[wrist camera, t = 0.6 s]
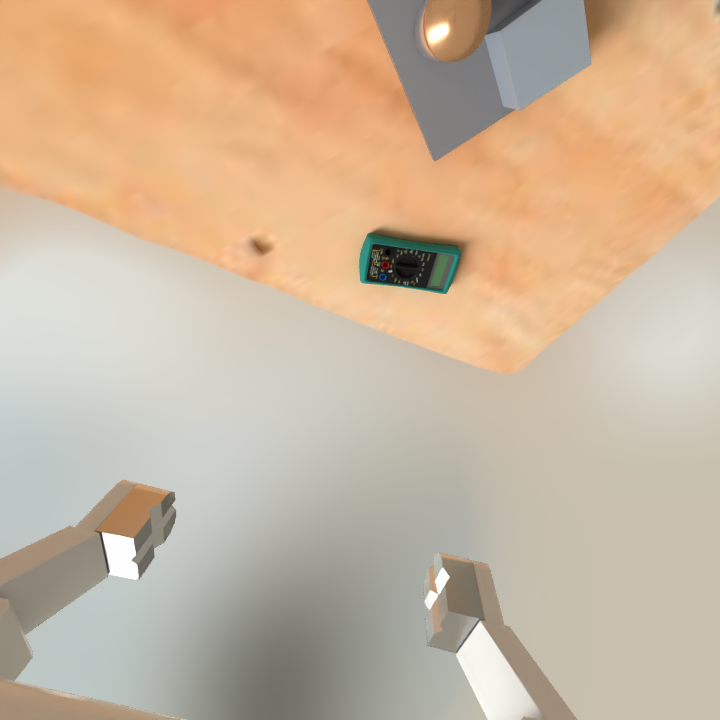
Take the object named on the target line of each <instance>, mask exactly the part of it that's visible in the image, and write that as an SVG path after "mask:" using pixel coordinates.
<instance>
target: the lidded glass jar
mask: <svg viewBox="0 0 720 720" xmlns="http://www.w3.org/2000/svg"><path fill="white" fill-rule="evenodd" d="M491 7H492V5H491V0H425V1H424V3H423V4H422V5H421V7H420V8H419V10H418V12H417V14H416V17H415V21H414V26H413V38H414V43H415V46H416V48H417V50H418V52H419V53H420V55H421V56H422V57H424V58H425V59H427V60H430V61H443V62H458V61H461V60H463V59H466V58H467V57H469V56H470V55H471V54H472V53H474V52H475V50H476V49H477V48H478V47H479V46H480V44H481V43H482V41H483V39H484V37H485V35H486V33H487V30H488V27H489V24H490V19H491Z"/></svg>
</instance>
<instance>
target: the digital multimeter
mask: <svg viewBox="0 0 720 720" xmlns="http://www.w3.org/2000/svg"><path fill="white" fill-rule="evenodd" d="M380 244H381V245H380ZM394 246H395V247H394ZM401 247H402V248H401ZM421 250H422V251H421ZM428 251H429V252H428ZM435 252H436V253H435ZM460 256H461V251H460V250H459V248H458V247H457V246H450V245H440V244H430V243H423V242H415V241H408V240H403V239H397V238H392V237H386V236H382V235H377V234H372V233H369V234H368V235H367V237H366V239H365V241H364V244H363V247H362V250H361V253H360V260H359V265H360V281H361V283H366V284H378V285H388V286H398V287H405V288H412V289H419V290H425V291H430V292H436V293H441V294H446V293H447V292H448V290H449V288H450V286H451V283H452V281H453V279H454V276H455V273H456V270H457V267H458V264H459V260H460ZM453 259H454V260H453Z"/></svg>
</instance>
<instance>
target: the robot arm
mask: <svg viewBox="0 0 720 720" xmlns="http://www.w3.org/2000/svg"><path fill="white" fill-rule="evenodd" d="M174 501H175V492H171V491H167V490H163V489H159V488H155V487H151V486H147V485H143V484H140V483H135V482H131V481H127V480H122V481H121V482H119V483H117V484H116V485H115V486H114V487H113V488H112V489H111V490H110V491H109V492H108V493H107V494H106V495H105V496H104V497H103V498H102V499H101V500H100V501H99V503H98V504H97V505H96V506H95V507H94V508H93V509H92V510H91V511H90V512H89V513H88V514H87V515H86V516H85V517H84V518H83V519H82V520H81V521H80V522H79V523H78V524H77V525H76V527H73V526H68V527H66V528H64V529H62V530H60V531H58V532H56V533H54V534H52V535H50V536H48V537H45V538H43V539H41V540H39V541H37V542H35V543H33V544H31V545H29V546H27V547H25V548H22V549H20V550H18V551H16V552H14V553H12V554H10V555H8V556H6V557H4V558H1V559H0V720H186V719H181V718H177V717H173V716H168V715H164V714H159V713H155V712H150V711H146V710H141V709H136V708H133V707H128V706H124V705H119V704H114V703H110V702H106V701H101V700H96V699H92V698H88V697H84V696H79V695H75V694H70V693H66V692H61V691H57V690H52V689H47V688H43V687H38V686H34V685H30V684H25V683H21V682H16V681H15V679H16V678H17V677H18V676H19V674H20V673H21V672H22V670H23V669H24V668H25V666H26V665H27V664H28V662H29V661H30V660H31V659H32V654H33V650H32V648H31V646H30V644H29V642H28V640H27V637H26V634H27V633H29V632H30V631H31V630H33V629H34V628H36V627H37V626H39V625H40V624H41V623H43V622H44V621H45V620H47V619H48V618H50V617H51V616H53V615H54V614H56V613H57V612H58V611H60V610H61V609H63V608H64V607H65V606H67V605H68V604H70V603H71V602H73V601H74V600H75V599H77V598H78V597H80V596H81V595H82V594H84V593H85V592H87V591H88V590H89V589H91V588H92V587H94V586H95V585H96V584H98V583H99V582H101V581H102V580H103V579H105V578H106V577H108V574H111V575H116V576H121V577H126V578H131V579H137V580H139V579H140V578H141V576H142V575H143V573H144V572H145V570H146V569H147V567H148V566H149V564H150V563H151V561H152V560H153V558H154V548H156V547H157V546H159V545H161V544H162V543H164V542H165V540H166V539H167V537H168V536H169V534H170V532H171V530H172V528H173V525H174V523H175V518H176V510H175V508H174V507H173V506H172V504H173V502H174ZM433 563H434V566H432V567H430V568H429V569H428V571H427V573H426V575H425V581H424V592H423V593H424V603H425V604H426V606H427V608H428V610H429V613H428V615H427V617H426V618H425V623H426V636H427V646H430V647H434V648H438V649H442V650H446V651H449V652H453V653H457V654H456V656H457V658H458V660H459V663H460V664H461V666H462V669H463V671H464V673H465V675H466V677H467V679H468V681H469V683H470V685H471V687H472V689H473V691H474V693H475V695H476V696H477V699H478V701H479V703H480V705H481V707H482V709H483V711H484V713H485V715H486V717H487V719H488V720H577V719H576V717H575V716H574V715H573V713H572V712H571V710H570V709H569V708H568V706H567V705H566V703H565V702H564V701H563V699H562V698H561V697H560V695H559V694H558V693H557V691H556V690H555V689H554V687H553V686H552V684H551V683H550V682H549V680H548V679H547V677H546V676H545V675H544V673H543V672H542V671H541V669H540V668H539V667H538V665H537V664H536V662H535V661H534V660H533V658H532V657H531V656H530V654H529V653H528V651H527V650H526V649H525V647H524V646H523V645H522V643H521V642H520V640H519V639H518V638H517V636H516V635H515V634H514V632H513V631H512V629H511V628H510V627H508V626H505V625H504V622H503V618H502V614H501V610H500V606H499V602H498V598H497V594H496V590H495V587H494V583H493V579H492V575H491V571H490V568H489V566H488V565H487V564H486V563H482V562H477V561H472V560H469V559H466V558H461V557H457V556H452V555H447V554H442V553H437V554H436V555H435V557H434V559H433Z"/></svg>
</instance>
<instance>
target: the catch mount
mask: <svg viewBox="0 0 720 720" xmlns="http://www.w3.org/2000/svg"><path fill="white" fill-rule="evenodd" d="M367 1H368V4H369V6H370V9H371V11H372V13H373V16H374V18H375V21H376V23H377V26H378V28H379V30H380V33H381V35H382V38H383V40H384V42H385V45H386V47H387V50H388V52H389V55H390V57H391V59H392V62H393V64H394V67H395V69H396V72H397V74H398V76H399V79H400V81H401V84H402V86H403V88H404V91H405V93H406V96H407V98H408V101H409V103H410V105H411V108H412V110H413V113H414V115H415V118H416V120H417V122H418V125H419V127H420V130H421V132H422V135H423V137H424V139H425V142H426V144H427V147H428V149H429V151H430V154H431V156H432V159H433V160H434V161H436V160H438V159H439V158H441V157H443V156H444V155H446V154H447V153H449V152H450V151H452V150H453V149H455V148H456V147H458V146H460V145H461V144H463V143H464V142H466V141H467V140H469V139H470V138H472V137H473V136H475V135H476V134H478V133H480V132H481V131H483V130H484V129H486V128H487V127H489V126H490V125H492V124H493V123H495V122H497V121H498V120H500V119H501V118H503V117H504V116H506V115H507V114H509V113H510V112H512V111H514V110H515V109H516V110H521V109H523V108H524V107H526V106H527V105H529V104H530V103H532V102H533V101H535V100H537V99H538V98H540V97H541V96H543V95H544V94H546V93H547V92H549V91H551V90H552V89H554V88H555V87H557V86H558V85H560V84H561V83H563V82H564V81H566V80H568V79H569V78H571V77H572V76H574V75H575V74H577V73H578V72H580V71H582V70H583V69H585V68H586V67H588V66H589V65H591V55H590V47H589V39H588V31H587V23H586V15H585V7H584V0H491V5H492V7H491V19H490V24H489V27H488V30H487V33H486V35H485V37H484V39H483V41H482V43H481V44H480V46H479V47H478V48H477V49H476V50H475V52H474V53H472V54H471V55H470V56H469V57H467V58H466V59H463V60H461V61H458V62H443V61H430V60H427V59H425V58H424V57H422V56H421V55H420V53H419V52H418V50H417V48H416V46H415V43H414V38H413V26H414V21H415V17H416V14H417V12H418V10H419V8H420V7H421V5H422V4H423V3H424V1H425V0H367Z"/></svg>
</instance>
